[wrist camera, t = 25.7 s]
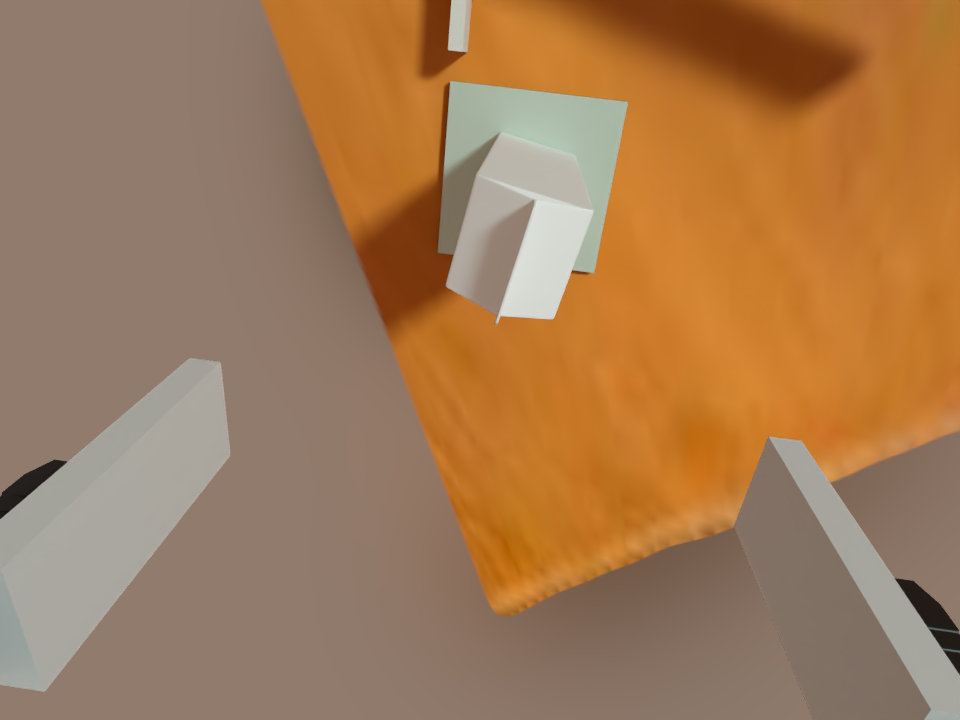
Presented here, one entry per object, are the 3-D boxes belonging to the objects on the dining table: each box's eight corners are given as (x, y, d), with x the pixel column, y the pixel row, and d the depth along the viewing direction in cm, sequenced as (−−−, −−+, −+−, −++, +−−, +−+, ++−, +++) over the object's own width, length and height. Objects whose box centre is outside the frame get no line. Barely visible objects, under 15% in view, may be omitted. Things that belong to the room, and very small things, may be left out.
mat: (451, 80, 45) (450, 81, 44) (626, 101, 44) (627, 102, 44) (438, 250, 51) (437, 252, 50) (593, 270, 50) (594, 273, 50)
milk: (478, 207, 48) (431, 310, 29) (500, 129, 45) (464, 184, 26) (551, 229, 48) (553, 347, 29) (578, 154, 46) (600, 227, 26)
